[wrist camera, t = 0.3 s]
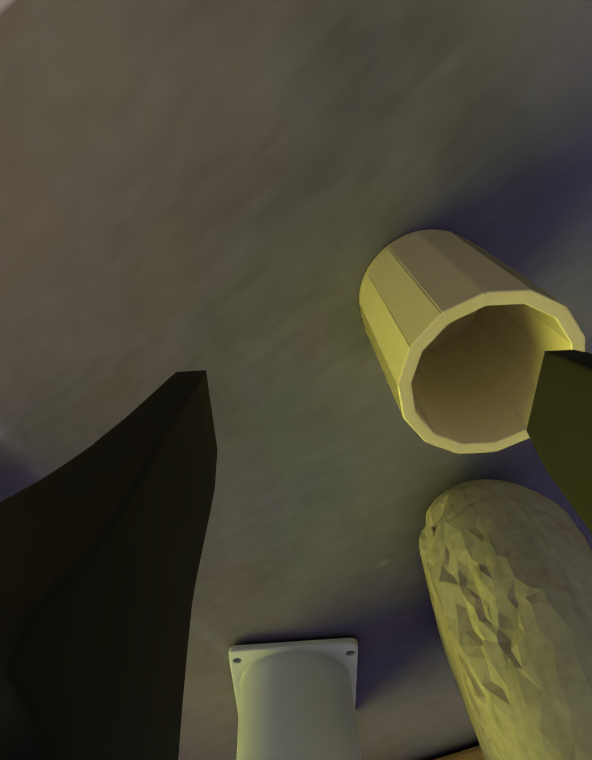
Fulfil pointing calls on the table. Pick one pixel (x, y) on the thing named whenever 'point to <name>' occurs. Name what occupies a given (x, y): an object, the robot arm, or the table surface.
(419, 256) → the cup
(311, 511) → the table surface
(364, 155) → the table surface
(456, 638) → the stone
